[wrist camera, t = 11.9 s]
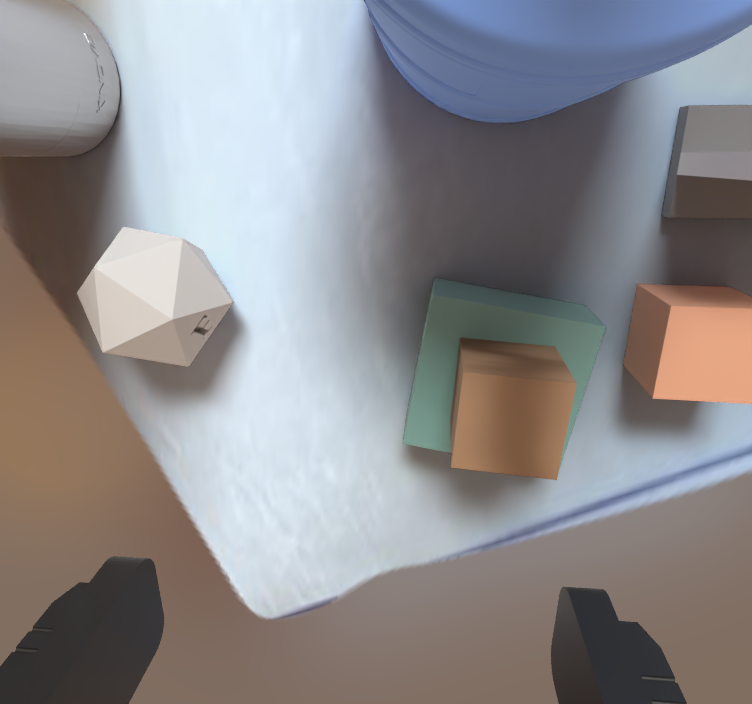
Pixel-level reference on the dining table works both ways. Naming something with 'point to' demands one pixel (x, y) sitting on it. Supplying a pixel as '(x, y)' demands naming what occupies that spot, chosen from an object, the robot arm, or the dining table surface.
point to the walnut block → (510, 408)
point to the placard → (711, 163)
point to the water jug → (542, 48)
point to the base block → (497, 323)
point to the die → (153, 298)
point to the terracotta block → (691, 343)
